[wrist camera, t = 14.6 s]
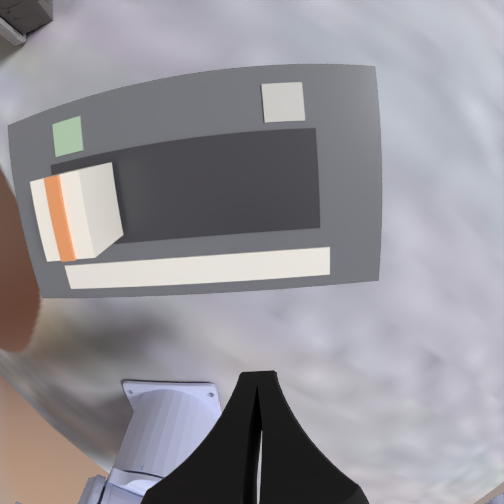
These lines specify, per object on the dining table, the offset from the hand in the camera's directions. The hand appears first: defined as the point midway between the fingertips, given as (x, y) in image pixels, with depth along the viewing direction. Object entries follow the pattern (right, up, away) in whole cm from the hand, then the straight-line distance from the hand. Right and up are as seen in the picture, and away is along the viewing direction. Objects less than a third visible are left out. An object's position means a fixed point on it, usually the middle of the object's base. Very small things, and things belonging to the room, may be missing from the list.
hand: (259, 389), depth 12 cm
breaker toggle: (-9, +8, +4) cm, 13 cm away
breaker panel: (-4, +9, +7) cm, 12 cm away
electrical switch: (-16, +25, +2) cm, 29 cm away
